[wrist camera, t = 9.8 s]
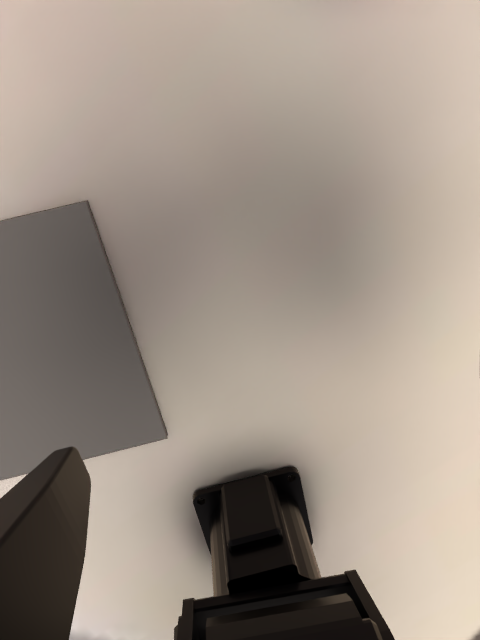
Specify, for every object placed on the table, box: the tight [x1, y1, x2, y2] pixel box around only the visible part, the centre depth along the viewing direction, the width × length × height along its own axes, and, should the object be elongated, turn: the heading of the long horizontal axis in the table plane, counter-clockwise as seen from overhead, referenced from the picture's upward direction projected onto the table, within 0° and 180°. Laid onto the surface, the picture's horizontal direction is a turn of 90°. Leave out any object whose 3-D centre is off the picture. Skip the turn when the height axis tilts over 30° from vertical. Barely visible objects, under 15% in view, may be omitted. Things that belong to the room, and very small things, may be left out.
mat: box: [0, 201, 168, 480], centre depth 21 cm, size 13×13×1 cm
